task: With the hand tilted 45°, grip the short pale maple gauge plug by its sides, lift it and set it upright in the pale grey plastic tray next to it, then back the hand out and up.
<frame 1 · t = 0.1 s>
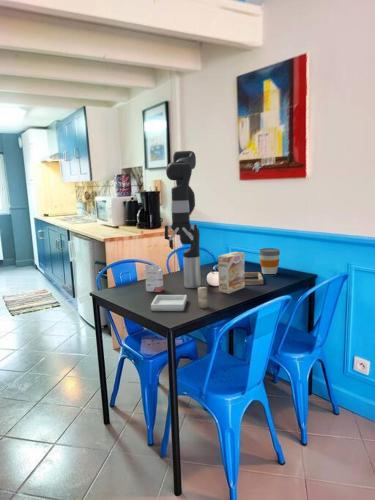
hand: (181, 248, 162), 29 cm above the table, tool pointing down, fingers open, 8 cm apart
ink cartridge box: (154, 290, 205), on the table
coffeecake box: (232, 289, 202), on the table
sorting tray: (169, 305, 178), on the table
undersize gauge plug: (202, 306, 175), on the table
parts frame: (245, 280, 220), on the table
reusable coffee cup: (269, 273, 235), on the table
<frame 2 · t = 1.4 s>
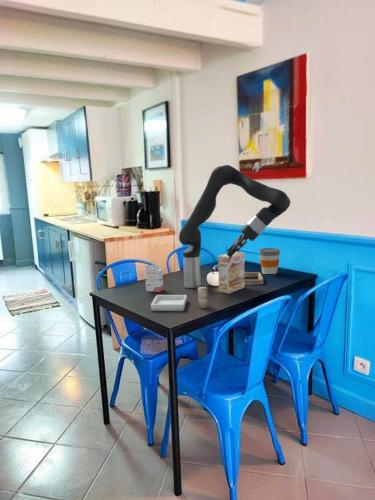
hand: (228, 254, 169), 25 cm above the table, tool tilted 45°, fingers open, 8 cm apart
nothing on the table moved.
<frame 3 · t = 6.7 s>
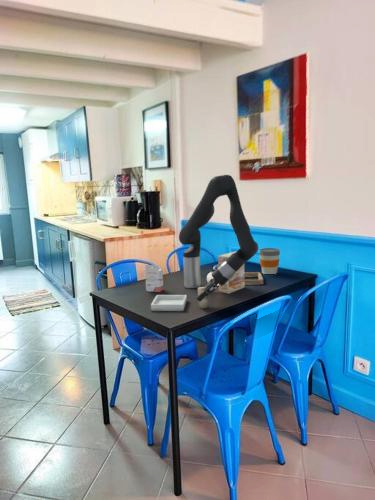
hand: (198, 298, 174), 4 cm above the table, tool tilted 45°, fingers closed on undersize gauge plug, 4 cm apart
undersize gauge plug: (202, 306, 175), on the table, touching gripper
everything else where it was.
when the fingers open (7 cm above the table, at t = 14.5 s): undersize gauge plug drops 1 cm, resting on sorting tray.
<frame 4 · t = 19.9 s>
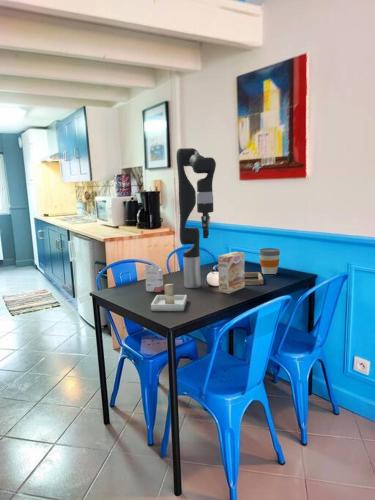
hand: (206, 236, 175), 32 cm above the table, tool pointing down, fingers open, 8 cm apart
undersize gauge plug: (169, 303, 178), point 1 cm above the table, touching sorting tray
everything else where it was.
at the end: undersize gauge plug inside the target area on the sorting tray (0.1 cm from its centre), point 1.0 cm above the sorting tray's base; undersize gauge plug tilted 1°; the gripper is holding nothing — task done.
